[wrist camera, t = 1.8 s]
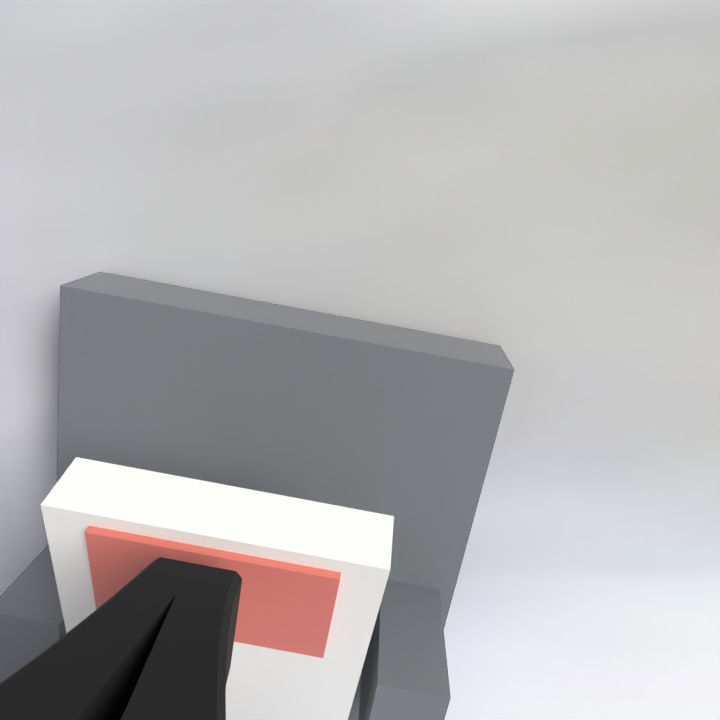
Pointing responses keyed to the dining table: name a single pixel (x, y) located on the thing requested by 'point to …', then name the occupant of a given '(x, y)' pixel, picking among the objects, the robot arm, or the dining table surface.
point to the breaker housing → (284, 444)
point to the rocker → (251, 561)
